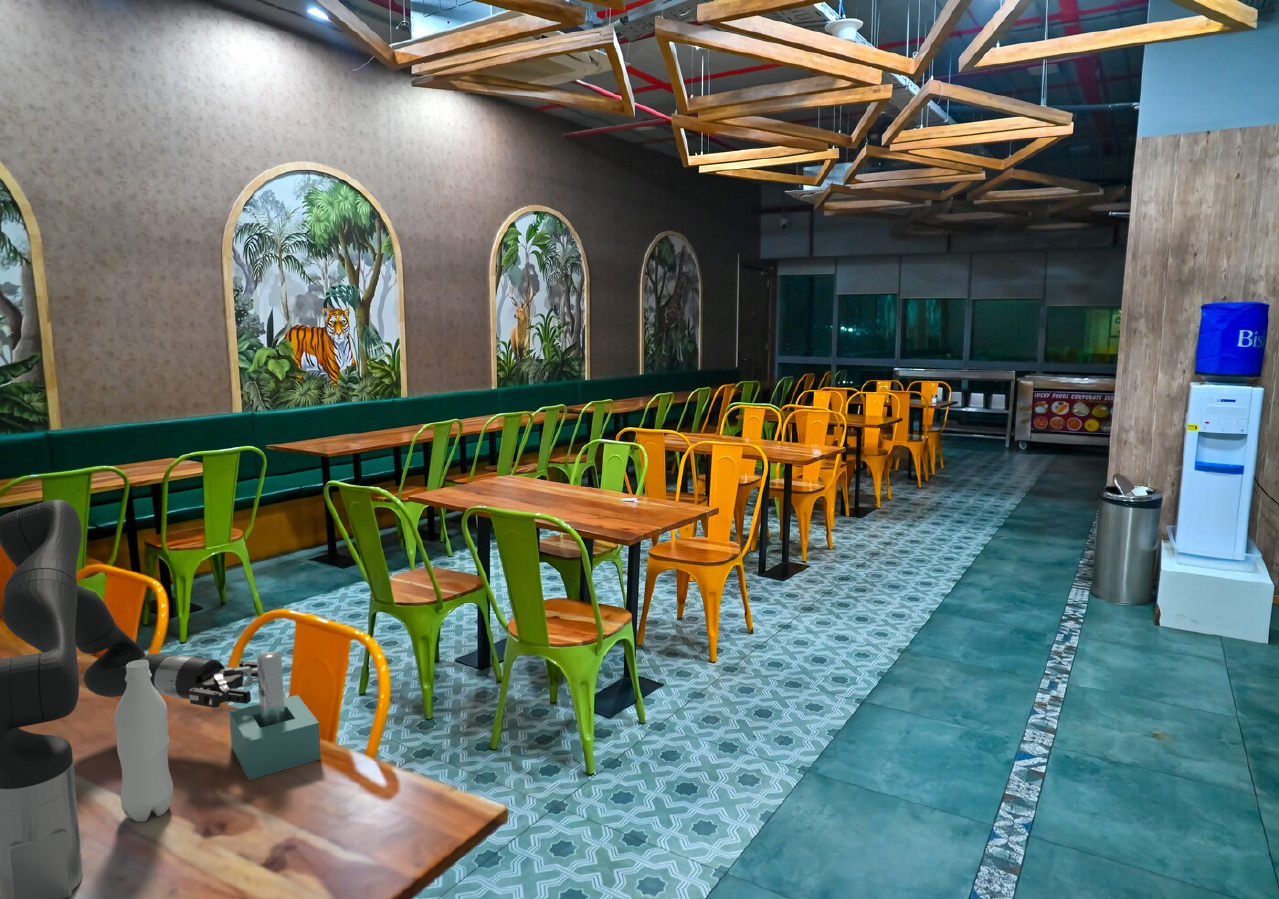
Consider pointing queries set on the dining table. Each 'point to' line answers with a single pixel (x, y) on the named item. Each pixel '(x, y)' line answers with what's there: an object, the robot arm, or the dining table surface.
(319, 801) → the dining table surface
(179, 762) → the dining table surface
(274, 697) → the steel post
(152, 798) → the water bottle
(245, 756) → the well block
